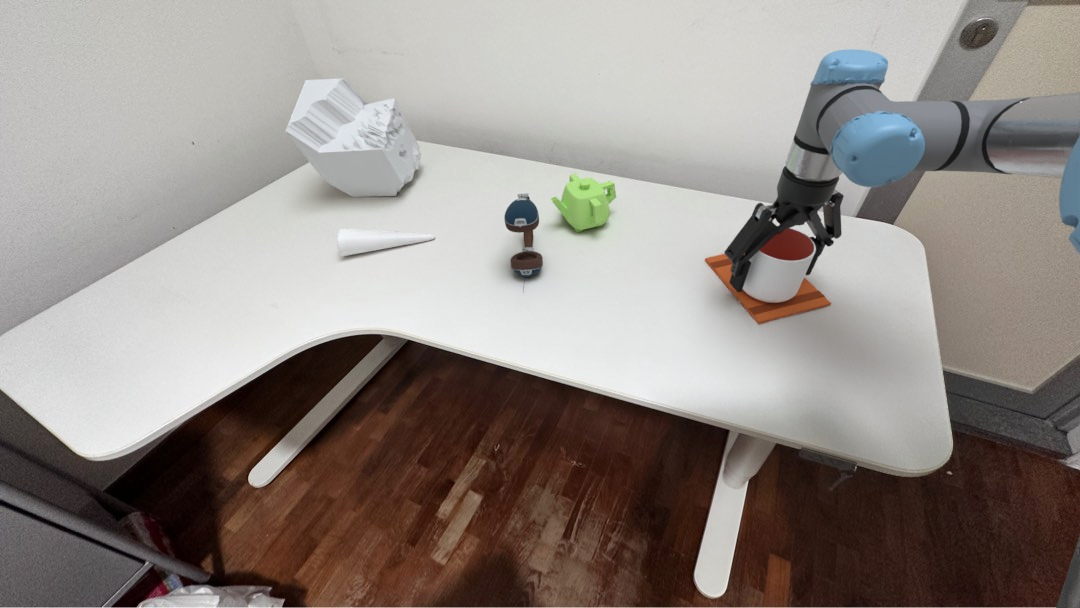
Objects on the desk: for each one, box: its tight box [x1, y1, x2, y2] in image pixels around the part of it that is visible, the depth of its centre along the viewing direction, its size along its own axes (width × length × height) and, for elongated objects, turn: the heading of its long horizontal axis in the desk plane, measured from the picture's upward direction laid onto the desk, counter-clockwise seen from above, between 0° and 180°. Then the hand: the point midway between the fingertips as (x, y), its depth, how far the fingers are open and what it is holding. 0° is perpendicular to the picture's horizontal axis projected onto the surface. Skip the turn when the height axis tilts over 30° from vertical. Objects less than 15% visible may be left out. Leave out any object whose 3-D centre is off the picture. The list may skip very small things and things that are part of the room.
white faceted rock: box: [285, 77, 422, 198], centre depth 110 cm, size 20×16×25 cm
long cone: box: [336, 227, 436, 257], centre depth 98 cm, size 6×6×19 cm
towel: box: [704, 253, 832, 325], centre depth 85 cm, size 18×14×1 cm
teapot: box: [550, 173, 617, 233], centre depth 99 cm, size 12×12×10 cm
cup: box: [743, 227, 816, 303], centre depth 80 cm, size 10×10×10 cm
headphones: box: [503, 192, 544, 294], centre depth 87 cm, size 6×15×22 cm
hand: (769, 278), depth 82 cm, fingers open, 13 cm apart
